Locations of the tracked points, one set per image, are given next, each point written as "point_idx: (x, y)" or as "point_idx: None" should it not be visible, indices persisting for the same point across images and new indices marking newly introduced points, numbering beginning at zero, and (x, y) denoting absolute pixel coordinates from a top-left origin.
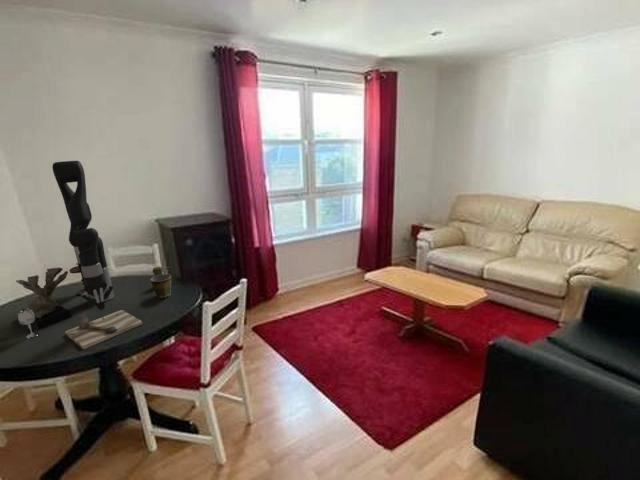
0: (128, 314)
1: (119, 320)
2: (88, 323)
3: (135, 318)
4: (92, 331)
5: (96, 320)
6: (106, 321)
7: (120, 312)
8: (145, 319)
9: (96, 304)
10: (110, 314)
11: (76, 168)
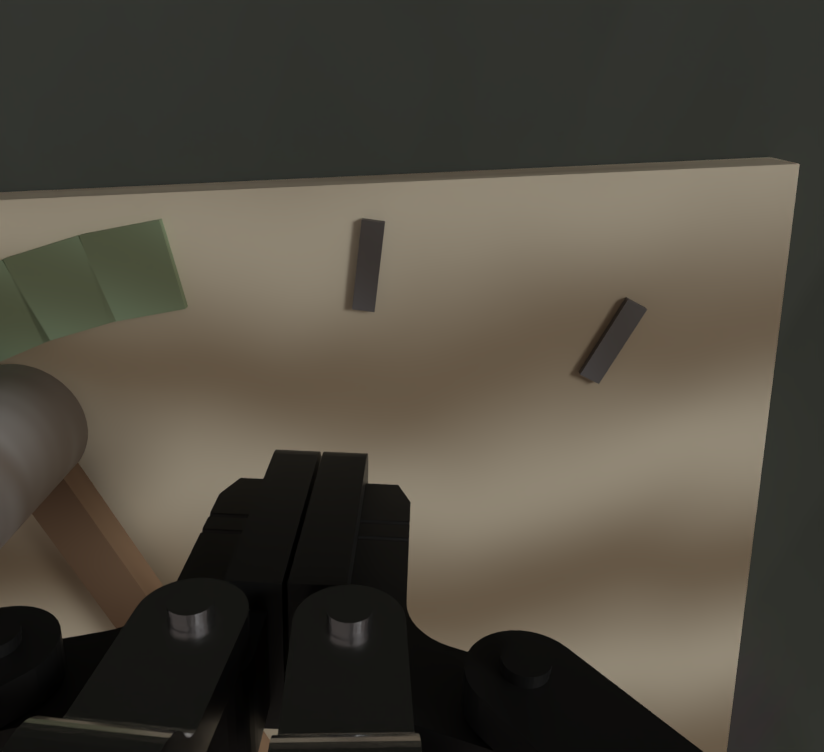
0: (738, 497)
1: (527, 588)
2: (36, 508)
3: (714, 718)
4: (94, 607)
5: (246, 238)
6: (366, 445)
7: (707, 276)
8: (806, 723)
9: (189, 571)
10: (540, 189)
11: None
